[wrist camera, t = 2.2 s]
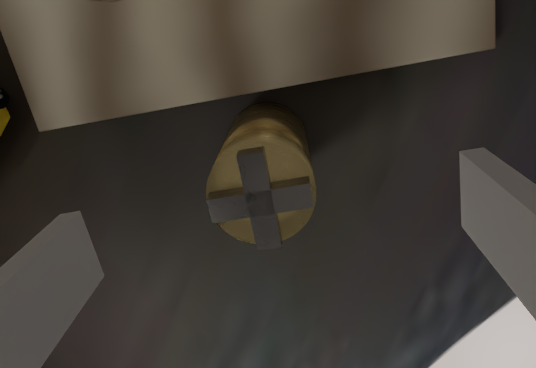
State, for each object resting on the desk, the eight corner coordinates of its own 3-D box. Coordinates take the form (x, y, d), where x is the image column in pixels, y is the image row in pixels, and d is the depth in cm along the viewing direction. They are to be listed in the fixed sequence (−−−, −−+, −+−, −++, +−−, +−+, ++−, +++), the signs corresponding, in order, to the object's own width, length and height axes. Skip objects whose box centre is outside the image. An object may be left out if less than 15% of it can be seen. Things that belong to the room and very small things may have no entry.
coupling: (237, 182, 26) (216, 261, 18) (221, 109, 24) (189, 158, 16) (311, 170, 25) (325, 245, 17) (299, 95, 24) (308, 138, 16)
